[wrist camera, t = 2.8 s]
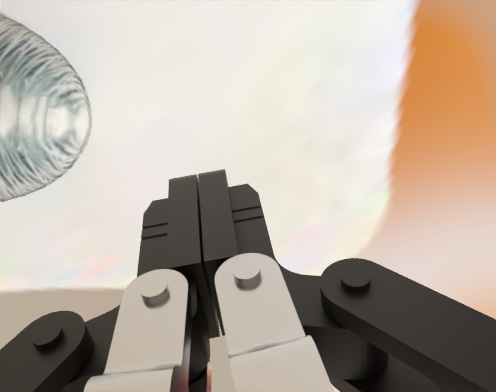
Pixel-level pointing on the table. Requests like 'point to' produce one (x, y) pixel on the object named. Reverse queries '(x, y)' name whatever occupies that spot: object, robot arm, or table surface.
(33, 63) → the spool
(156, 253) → the robot arm
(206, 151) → the table surface
